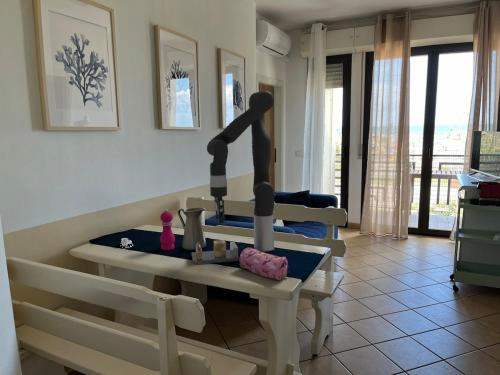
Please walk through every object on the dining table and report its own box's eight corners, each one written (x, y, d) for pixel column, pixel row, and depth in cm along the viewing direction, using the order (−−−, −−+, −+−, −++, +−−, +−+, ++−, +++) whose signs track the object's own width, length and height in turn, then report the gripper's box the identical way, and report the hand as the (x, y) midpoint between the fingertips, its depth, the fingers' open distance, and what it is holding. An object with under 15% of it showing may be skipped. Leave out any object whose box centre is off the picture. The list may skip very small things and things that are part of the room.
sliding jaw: (200, 251, 171) (200, 241, 171) (202, 259, 162) (202, 248, 161) (196, 252, 171) (195, 241, 170) (197, 259, 161) (197, 248, 160)
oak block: (224, 252, 171) (224, 240, 170) (226, 255, 166) (225, 243, 165) (213, 253, 170) (213, 240, 169) (215, 256, 165) (214, 243, 164)
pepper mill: (171, 250, 179) (170, 210, 176) (157, 250, 180) (156, 210, 177) (177, 246, 186) (176, 207, 183) (164, 245, 187) (162, 207, 184)
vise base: (234, 252, 176) (233, 241, 175) (238, 260, 164) (238, 248, 163) (191, 255, 172) (191, 244, 171) (193, 264, 160) (192, 252, 159)
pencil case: (291, 276, 146) (291, 255, 145) (277, 283, 139) (277, 261, 138) (251, 264, 160) (250, 244, 159) (236, 270, 153) (236, 249, 152)
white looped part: (128, 242, 194) (127, 235, 193) (137, 245, 189) (137, 237, 189) (113, 247, 187) (112, 239, 186) (123, 249, 182) (122, 242, 182)
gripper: (229, 187, 157) (230, 224, 160) (224, 182, 171) (225, 216, 173) (211, 187, 156) (213, 225, 158) (208, 183, 170) (209, 217, 172)
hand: (219, 220), depth 166 cm, fingers open, 8 cm apart
